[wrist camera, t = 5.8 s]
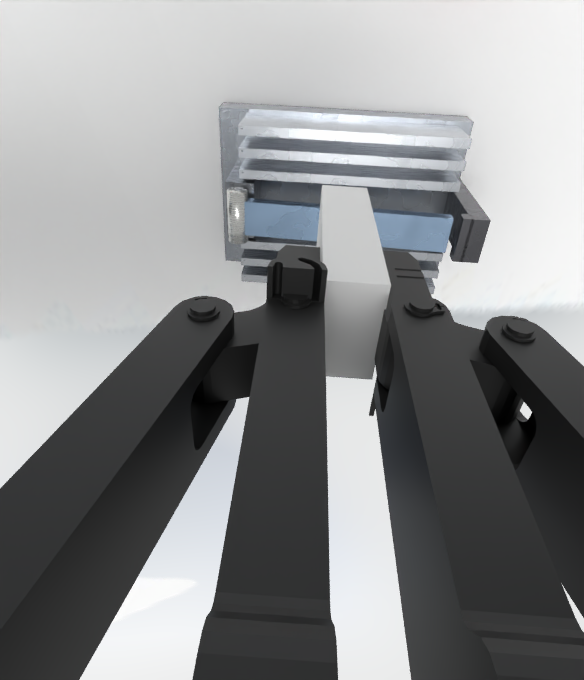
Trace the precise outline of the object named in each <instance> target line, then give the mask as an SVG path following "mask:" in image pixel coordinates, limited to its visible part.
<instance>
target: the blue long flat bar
mask: <svg viewBox="0 0 584 680" xmlns="http://www.w3.org/2000/svg"><path fill="white" fill-rule="evenodd" d="M227 209H228V235H229V242H231V243H233V244H244V243H246V242H248V235H249V236H261V237H272V238H284V239H295V240H307V241H317V235H318V224H319V213H320V204H316V203H304V202H291V201H279V200H267V199H255V198H248V190H247V189H245V188H242V187H232V188H228V189H227ZM372 210H373V214H374V218H375V222H376V226H377V230H378V234H379V238H380V242H381V246H382V247H387V248H398V249H409V250H421V251H432V252H444V253H445V251H446V247H447V243H448V239H449V235H450V231H451V227H452V223H453V217H452V215H450V214H438V213H426V212H414V211H401V210H389V209H377V208H372Z"/></svg>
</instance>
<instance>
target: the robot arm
mask: <svg viewBox="0 0 584 680" xmlns="http://www.w3.org/2000/svg"><path fill="white" fill-rule="evenodd" d="M375 365H376V371H377V378H376V383H375V388H374V393H373V398H372V402H371V407H370V413H369V415H370V416H373V415H374V411H375V409H376V414H377V421H378V429H379V437H380V444H381V452H382V459H383V467H384V475H385V482H386V490H387V497H388V505H389V512H390V520H391V528H392V536H393V543H394V550H395V557H396V566H397V573H398V581H399V589H400V596H401V604H402V612H403V619H404V627H405V634H406V642H407V650H408V657H409V665H410V672H411V680H584V632H583V631H582V630H581V628H580V626H579V624H578V622H577V620H576V618H575V616H574V613H573V611H572V608H571V606H570V604H569V601H568V599H567V596H566V594H565V592H564V589H563V586H564V588H565V589H566V591H567V593H568V594H569V595H570V597H571V599H572V600H573V602H574V603H575V605H576V607H577V608H578V610H579V611H580V613H581V614H582V616H583V617H584V366H583V365H582V364H580V363H579V362H578V361H577V360H576V359H575V358H574V357H573V356H572V355H571V354H570V353H569V352H568V351H567V350H566V349H564V348H563V347H562V346H561V345H560V344H559V343H558V342H557V341H556V340H555V339H554V338H553V337H552V336H551V335H549V334H548V333H547V332H546V331H545V330H543V329H542V328H541V327H539V326H538V325H537V324H534V323H532V322H530V321H528V320H527V319H524V318H518V317H515V316H499V317H494V318H492V319H491V320H489V321H488V322H487V325H486V327H485V330H479V329H476V328H472V327H468V326H464V325H461V324H458V323H455V322H454V320H453V318H452V316H451V313H450V311H449V310H448V308H447V307H446V306H445V305H444V304H443V303H441V302H440V301H438V300H436V299H433V298H432V297H431V294H430V292H429V289H428V286H427V284H426V281H425V279H424V275H423V273H422V272H421V267H420V265H419V262H418V260H417V259H415V258H414V257H413V256H412V255H411V254H409V253H408V252H399V251H384V250H382V246H381V242H380V238H379V234H378V230H377V226H376V222H375V218H374V214H373V210H372V206H371V202H370V198H369V194H368V190H367V188H361V187H346V186H332V185H322V190H321V201H320V213H319V224H318V235H317V246H316V247H308V246H294V245H285V246H284V247H283V248H282V249H281V250H280V251H278V252H277V258H275V259H274V260H272V261H270V263H269V264H268V266H267V300H266V303H265V304H264V305H262V306H261V307H259V308H256V309H253V310H250V311H244V312H237V313H234V310H233V308H232V305H231V304H229V303H228V302H227V301H225V300H222V299H219V298H217V297H208V296H201V297H200V296H198V297H193V298H190V299H187V300H184V301H182V302H181V303H179V304H178V305H176V306H175V307H174V308H173V309H172V310H171V311H170V312H169V313H168V315H167V316H166V317H165V318H164V319H163V320H162V321H161V322H160V323H159V324H158V325H157V326H156V327H155V328H154V329H153V330H152V331H151V332H150V333H149V334H148V335H147V336H146V337H145V339H144V340H143V341H142V342H141V343H140V344H139V345H138V346H137V347H136V348H135V349H134V350H133V351H132V352H131V353H130V354H129V355H128V356H127V357H126V358H125V359H124V360H123V361H122V362H121V363H120V365H119V366H118V367H117V368H116V369H115V370H114V371H113V372H112V373H111V374H110V375H109V376H108V377H107V378H106V379H105V380H104V381H103V382H102V383H101V384H100V385H99V387H97V389H96V390H95V391H94V392H93V393H92V394H91V395H90V396H89V397H88V398H87V399H86V400H85V401H84V402H83V403H82V404H81V405H80V406H79V407H78V408H77V409H76V410H75V411H74V412H73V414H72V415H71V416H70V417H69V418H68V419H67V420H66V421H65V422H64V423H63V424H62V425H61V426H60V427H59V428H58V429H57V430H56V431H55V432H54V433H53V434H52V436H50V438H49V439H48V440H47V441H46V442H45V443H44V444H43V445H42V446H41V447H40V448H39V449H38V450H37V451H36V452H35V453H34V454H33V455H32V456H31V457H30V458H29V459H28V460H27V461H26V462H25V464H24V465H23V466H22V467H21V468H20V469H19V470H18V471H17V472H16V473H15V474H14V475H13V476H12V477H11V478H10V479H9V480H8V481H7V482H6V483H5V484H4V485H3V486H2V487H1V489H0V680H79V679H80V677H81V675H82V674H83V672H84V670H85V668H86V667H87V665H88V663H89V661H90V660H91V658H92V656H93V654H94V653H95V651H96V649H97V647H98V646H99V644H100V642H101V640H102V638H103V637H104V635H105V633H106V632H107V630H108V628H109V626H110V624H111V623H112V621H113V619H114V618H115V616H116V614H117V612H118V610H119V609H120V607H121V605H122V603H123V602H124V600H125V598H126V596H127V595H128V593H129V591H130V589H131V588H132V586H133V584H134V582H135V581H136V579H137V577H138V575H139V574H140V572H141V570H142V568H143V566H144V565H145V563H146V561H147V559H148V558H149V556H150V554H151V552H152V551H153V549H154V547H155V545H156V544H157V542H158V540H159V538H160V537H161V535H162V533H163V531H164V530H165V528H166V526H167V524H168V523H169V521H170V519H171V517H172V516H173V514H174V512H175V510H176V509H177V507H178V505H179V503H180V501H181V500H182V498H183V496H184V494H185V493H186V491H187V489H188V487H189V486H190V484H191V482H192V480H193V479H194V477H195V475H196V473H197V472H198V470H199V468H200V466H201V465H202V463H203V461H204V459H205V458H206V456H207V454H208V452H209V451H210V449H211V447H212V445H213V444H214V442H215V440H216V438H217V437H218V435H219V433H220V431H221V430H222V428H223V426H224V424H225V423H226V421H227V419H228V417H229V415H230V414H231V412H232V410H233V408H234V406H235V402H236V399H239V398H244V397H249V403H248V409H247V415H246V421H245V426H244V432H243V438H242V444H241V449H240V455H239V461H238V466H237V472H236V478H235V484H234V490H233V495H232V501H231V507H230V512H229V518H228V524H227V530H226V536H225V541H224V547H223V553H222V558H221V564H220V570H219V576H218V581H217V587H216V593H215V598H214V603H213V606H212V609H211V611H210V613H209V614H208V616H207V617H206V620H205V623H204V627H203V630H202V634H201V639H200V644H199V648H198V653H197V658H196V664H195V669H194V675H193V680H338V668H337V645H336V635H335V627H334V624H333V622H332V620H331V613H330V584H329V582H330V581H329V527H328V473H327V420H326V376H331V377H346V378H359V379H372V377H373V372H374V367H375ZM523 402H525V403H526V404H527V406H528V407H529V408H530V409H531V411H532V414H531V416H530V418H529V419H528V420H527V419H526V418H525V417H524V416H523V415H522V413H521V412H520V409H521V406H522V404H523ZM561 583H562V584H561ZM562 585H563V586H562Z"/></svg>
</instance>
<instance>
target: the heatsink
mask: <svg viewBox="0 0 584 680" xmlns="http://www.w3.org/2000/svg"><path fill="white" fill-rule="evenodd" d="M219 119H220V142H221V164H222V187H223V209H224V232H225V254H226V260H229V261H241V265H244V268H243V271H242V281H247V282H262V283H267V266H268V264H269V263H270V261H272V260H274V259H275V258H277V252H278V251H280V250H281V249H282V248H283V247H284V246H285V245H294V246H308V247H316V246H317V241H307V240H295V239H284V238H272V237H261V236H249V235H248V242H246V243H244V244H233V243H231V242H229V235H228V209H227V189H228V188H232V187H242V188H245V189H247V190H248V198H255V199H267V200H279V201H291V202H304V203H316V204H320V201H321V190H322V185H332V186H346V187H361V188H367V190H368V194H369V198H370V202H371V206H372V208H377V209H389V210H401V211H414V212H426V213H438V214H450V215H452V217H453V223H452V227H451V231H450V235H449V241H450V243H451V245H452V249H451V253H450V257H451V259H452V261H456V262H471V263H478V261H479V257H480V254H481V251H482V247H483V244H484V241H485V237H486V234H487V231H488V227H489V224H490V221H491V220H490V219H489V218H488V216H487V215H486V214H485V212H484V211H483V210H482V208H481V207H480V205H479V204H478V203H477V201H476V200H475V199H474V197H473V196H472V195H471V193H470V192H469V191H468V189H467V188H466V186H465V185H464V184H463V182H462V181H461V180H460V175H461V171H464V169H465V165H466V161H465V160H464V159H465V155H466V151H467V149H470V145H471V141H472V139H471V138H470V135H471V131H472V126H473V121H472V120H471V119H469V118H468V117H467V116H451V115H434V114H417V113H399V112H382V111H365V110H347V109H330V108H313V107H296V106H278V105H261V104H244V103H227V102H224V103H223V104H222V105H221V106H220V107H219ZM382 250H384V251H399V252H408V253H409V254H411V255H412V256H413V257H414V258H415V259H417V260H418V262H419V265H420V267H421V272H422V273H423V275H424V279H425V281H426V284H427V286H428V289H429V292H430V294H433V293H434V289H435V286H434V284H433V281H432V278H437V277H438V273H439V270H438V264H439V262H441V261H442V257H443V253H442V252H432V251H421V250H409V249H398V248H387V247H382Z"/></svg>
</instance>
